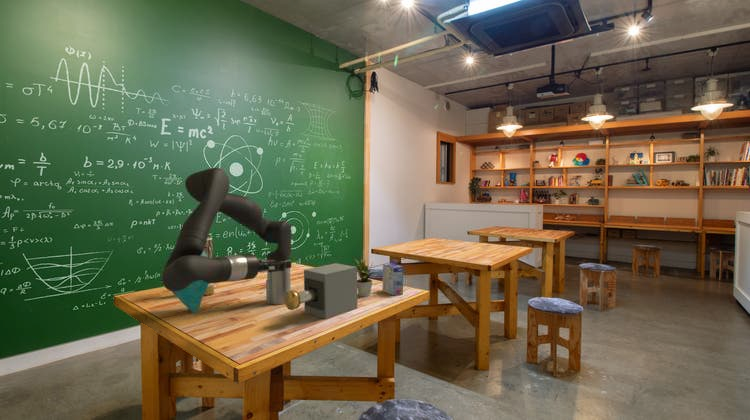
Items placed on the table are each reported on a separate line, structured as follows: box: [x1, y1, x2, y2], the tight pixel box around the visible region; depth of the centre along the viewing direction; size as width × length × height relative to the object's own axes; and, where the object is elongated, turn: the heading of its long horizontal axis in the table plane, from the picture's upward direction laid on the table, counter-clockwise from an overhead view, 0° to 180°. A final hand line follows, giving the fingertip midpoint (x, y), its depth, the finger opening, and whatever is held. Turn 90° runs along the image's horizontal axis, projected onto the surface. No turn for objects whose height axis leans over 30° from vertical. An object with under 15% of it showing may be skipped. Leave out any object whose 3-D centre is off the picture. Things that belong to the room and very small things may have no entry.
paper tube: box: [204, 236, 215, 296], centre depth 163 cm, size 7×7×25 cm
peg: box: [284, 288, 317, 311], centre depth 131 cm, size 15×6×6 cm, turn 139°
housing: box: [303, 262, 358, 320], centre depth 140 cm, size 16×12×16 cm
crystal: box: [171, 251, 209, 313], centre depth 139 cm, size 12×14×30 cm
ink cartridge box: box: [382, 259, 404, 296], centre depth 163 cm, size 10×6×14 cm, turn 27°
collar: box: [303, 277, 324, 311], centre depth 134 cm, size 1×10×10 cm, turn 49°
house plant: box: [348, 258, 378, 298], centre depth 161 cm, size 14×14×16 cm
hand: (281, 263), depth 120 cm, fingers open, 8 cm apart
